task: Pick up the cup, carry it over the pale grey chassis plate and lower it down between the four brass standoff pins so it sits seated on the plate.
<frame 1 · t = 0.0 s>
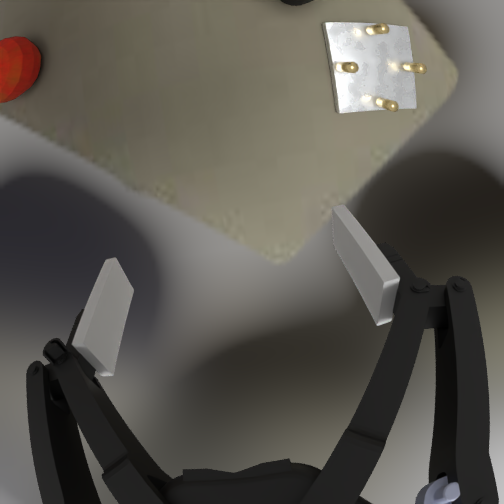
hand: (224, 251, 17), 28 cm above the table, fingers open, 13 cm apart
apple: (27, 66, 27), on the table
chassis: (371, 65, 34), on the table
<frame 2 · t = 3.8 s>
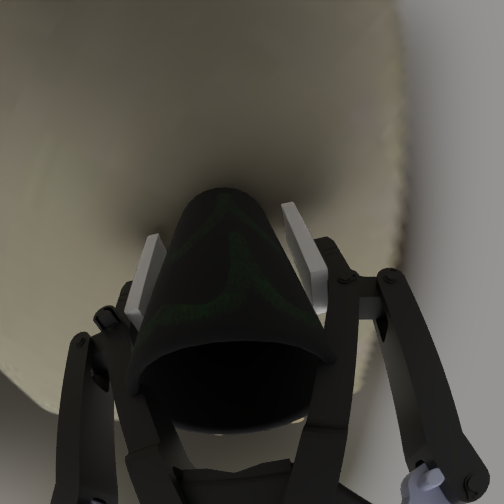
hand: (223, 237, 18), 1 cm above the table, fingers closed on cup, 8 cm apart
cup: (223, 225, 19), on the table, touching gripper
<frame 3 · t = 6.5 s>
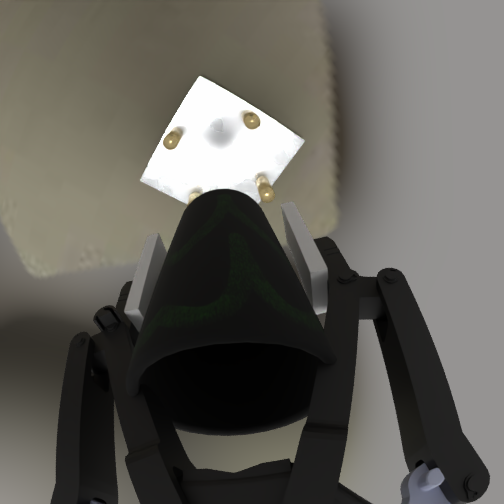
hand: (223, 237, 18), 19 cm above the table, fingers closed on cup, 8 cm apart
cup: (223, 226, 19), point 17 cm above the table, touching gripper
chassis: (220, 154, 33), on the table
when the fingers open (4 cm above the table, at t = 9.5 s): cup stays where it is, resting on chassis.
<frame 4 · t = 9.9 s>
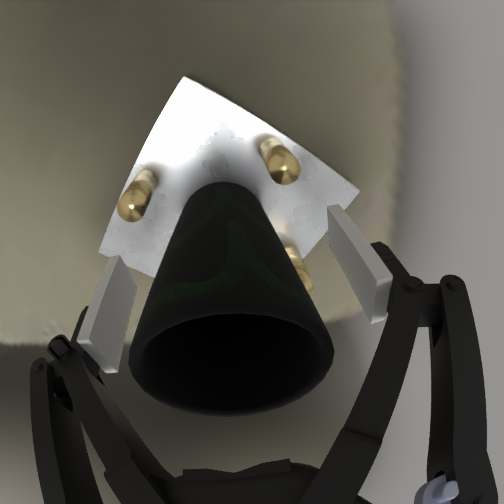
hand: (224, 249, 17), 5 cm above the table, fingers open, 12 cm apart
cup: (222, 218, 20), point 1 cm above the table, touching chassis
chassis: (222, 210, 21), on the table
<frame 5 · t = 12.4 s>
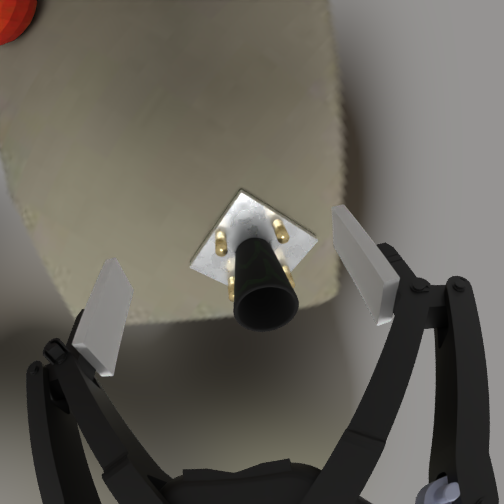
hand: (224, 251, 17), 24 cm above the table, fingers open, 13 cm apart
cup: (253, 253, 44), point 1 cm above the table, touching chassis
apple: (21, 16, 19), on the table
chassis: (252, 248, 45), on the table
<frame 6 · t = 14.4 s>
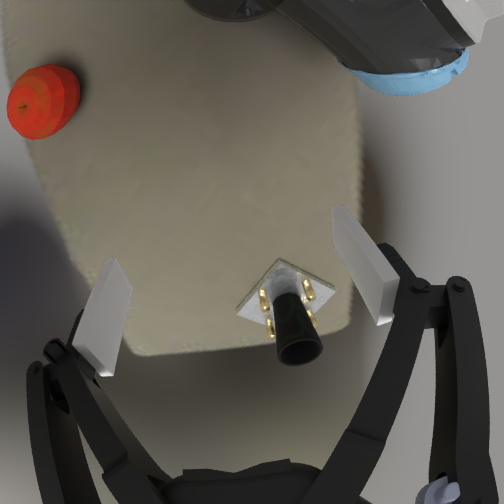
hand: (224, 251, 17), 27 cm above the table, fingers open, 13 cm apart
cup: (286, 302, 56), point 1 cm above the table, touching chassis
apple: (62, 95, 31), on the table
chassis: (285, 298, 57), on the table
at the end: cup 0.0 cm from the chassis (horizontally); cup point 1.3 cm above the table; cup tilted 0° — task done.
